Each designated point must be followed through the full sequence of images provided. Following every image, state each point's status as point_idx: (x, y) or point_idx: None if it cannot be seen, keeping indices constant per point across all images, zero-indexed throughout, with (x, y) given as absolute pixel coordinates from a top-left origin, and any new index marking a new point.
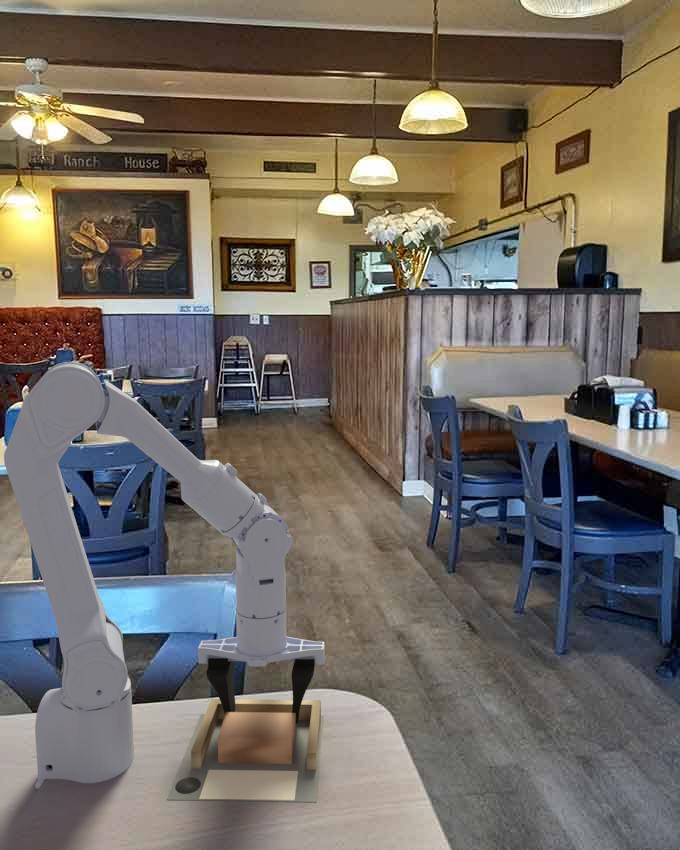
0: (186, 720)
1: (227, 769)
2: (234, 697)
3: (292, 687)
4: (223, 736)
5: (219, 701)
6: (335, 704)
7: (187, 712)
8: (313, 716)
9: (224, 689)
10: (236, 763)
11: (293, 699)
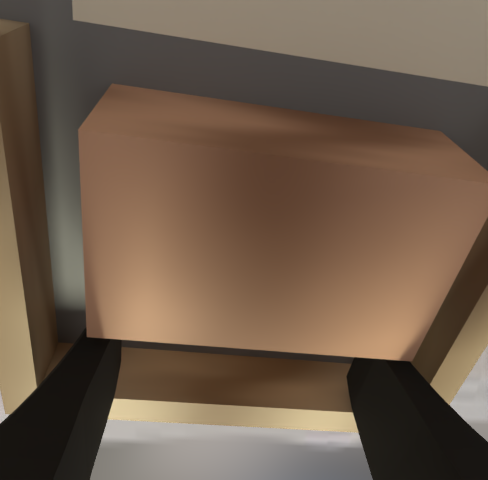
0: (475, 373)
1: (411, 77)
2: (361, 434)
3: (56, 468)
4: (471, 190)
5: None
6: (2, 411)
7: (463, 402)
8: (16, 329)
9: (471, 467)
10: (364, 119)
11: (80, 398)
